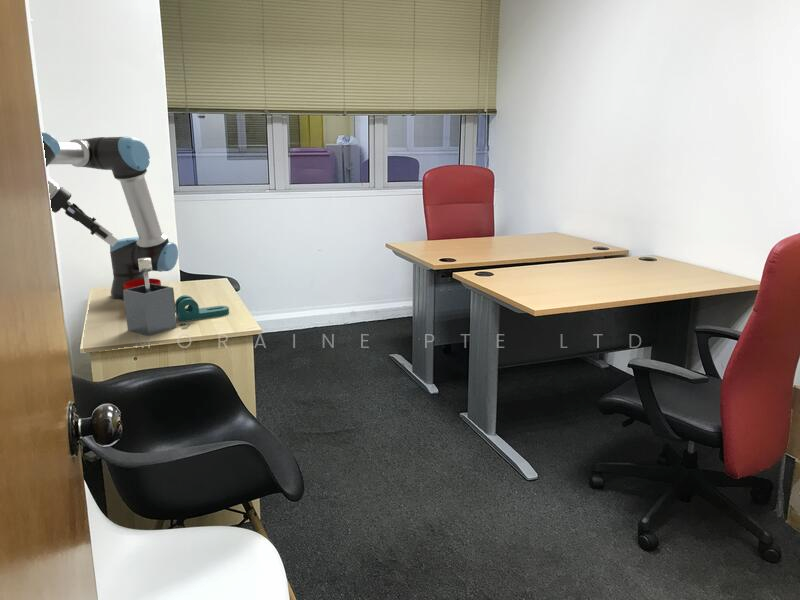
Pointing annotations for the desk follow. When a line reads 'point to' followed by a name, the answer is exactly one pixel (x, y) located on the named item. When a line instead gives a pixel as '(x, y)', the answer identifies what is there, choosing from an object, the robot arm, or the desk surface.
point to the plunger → (145, 270)
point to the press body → (150, 309)
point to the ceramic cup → (140, 283)
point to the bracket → (196, 310)
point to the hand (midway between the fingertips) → (112, 240)
